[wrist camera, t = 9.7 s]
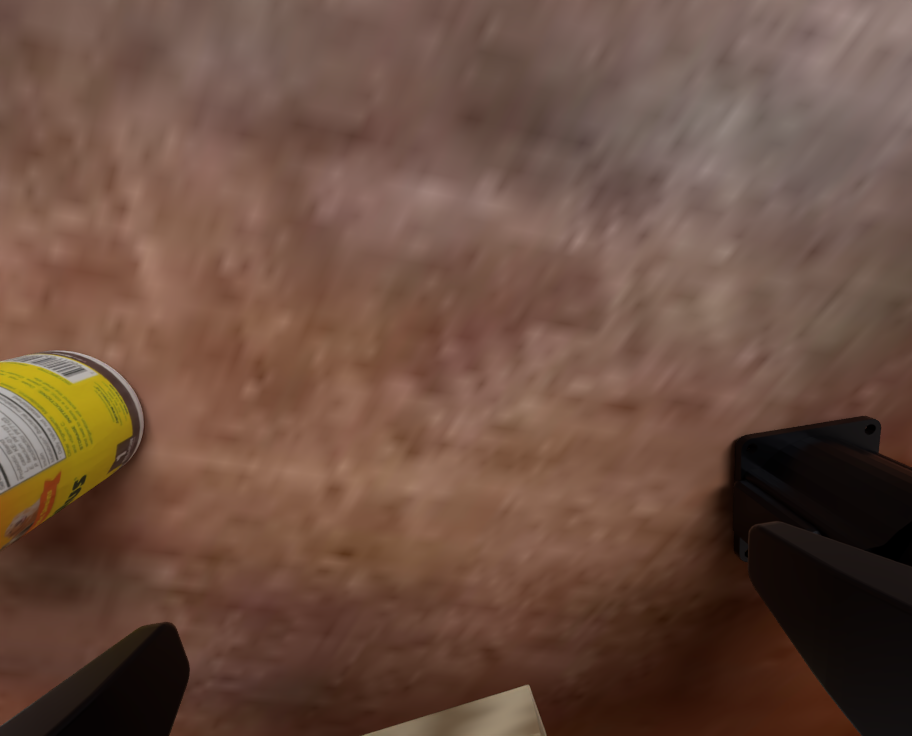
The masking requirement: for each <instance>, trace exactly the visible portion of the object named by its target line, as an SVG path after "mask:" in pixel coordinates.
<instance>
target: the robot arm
mask: <svg viewBox="0 0 912 736" xmlns="http://www.w3.org/2000/svg"><path fill="white" fill-rule="evenodd" d="M866 427H867V428H866ZM865 428H866V429H865ZM880 433H881V424H880V422H879V421H878V420H876V419H873V418H870V417H868V416H860V417H854V418H848V419H842V420H836V421H829V422H823V423H817V424H811V425H805V426H798V427H792V428H786V429H780V430H774V431H768V432H761V433H755V434H749V435H745V436H742V437H741V438H739V439H738V441H737V442H736V446H735V484H734V493H733V531H734V552H735V554H736V555H737V556H738V557H739V558H740V559H741V560H742V561H745V562H748V573H749V577H750V580H751V582H752V584H753V586H754V588H755V589H756V591H757V592H758V594H759V595H760V596H761V598H762V599H763V601H764V602H765V604H766V605H767V607H768V608H769V610H770V611H771V612H772V614H773V615H774V617H775V618H776V620H777V621H778V623H779V624H780V626H781V627H782V629H783V630H784V631H785V633H786V634H787V636H788V637H789V639H790V640H791V642H792V643H793V645H794V646H795V648H796V649H797V650H798V652H799V653H800V655H801V656H802V658H803V659H804V661H805V662H806V664H807V665H808V666H809V668H810V669H811V671H812V672H813V674H814V675H815V676H816V678H817V679H818V681H819V682H820V683H821V685H822V686H823V687H824V689H825V690H826V691H827V693H828V694H829V695H830V697H831V698H832V699H833V700H834V702H835V703H836V704H837V706H838V707H839V708H840V709H841V711H842V712H843V713H844V714H845V716H846V717H847V718H848V719H849V720H850V722H851V723H852V724H853V725H854V727H855V728H856V729H857V730H858V732H859V733H860V734H861V735H862V736H912V467H909V466H907V465H905V464H903V463H900V462H898V461H896V460H893V459H891V458H889V457H886V456H884V455H882V454H880V453H879V443H880ZM749 444H751V447H750V448H749V449H747V446H748V445H749ZM746 449H747V450H746ZM747 549H748V550H747ZM746 550H747V551H746ZM745 551H746V552H745ZM189 672H190V668H189V662H188V659H187V656H186V653H185V650H184V648H183V645H182V642H181V640H180V637H179V634H178V631H177V629H176V627H175V626H174V625H173V624H172V623H170V622H162V623H156V624H150V625H145V626H142V627H140V628H138V629H136V630H135V631H134V632H132V633H131V634H129V635H128V636H127V637H125V638H124V639H122V640H121V641H120V642H118V643H117V644H115V645H114V646H113V647H111V648H110V649H108V650H107V651H106V652H104V653H103V654H101V655H100V656H98V657H97V658H96V659H94V660H93V661H91V662H90V663H89V664H87V665H86V666H84V667H83V668H82V669H80V670H79V671H77V672H76V673H75V674H73V675H72V676H70V677H69V678H68V679H66V680H65V681H63V682H62V683H61V684H59V685H58V686H56V687H55V688H54V689H52V690H51V691H49V692H48V693H47V694H45V695H44V696H42V697H41V698H40V699H38V700H37V701H35V702H34V703H33V704H31V705H30V706H28V707H27V708H25V709H24V710H23V711H21V712H20V713H18V714H17V715H16V716H14V717H13V718H11V719H10V720H9V721H7V722H6V723H4V724H3V725H2V726H0V736H169V735H170V732H171V729H172V726H173V724H174V721H175V718H176V715H177V712H178V709H179V706H180V703H181V701H182V698H183V695H184V692H185V689H186V686H187V683H188V679H189Z"/></svg>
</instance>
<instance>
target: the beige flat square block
mask: <svg viewBox="0 0 912 736" xmlns="http://www.w3.org/2000/svg"><path fill="white" fill-rule="evenodd" d="M362 736H547V735H546V732H545V729H544V726H543V723H542V721H541V718H540V715H539V712H538V709H537V706H536V703H535V700H534V698H533V695H532V692H531V689H530V686H529V685H525V686H522V687H519V688H516V689H512V690H509V691H506V692H502V693H499V694H496V695H493V696H489V697H486V698H483V699H480V700H476V701H473V702H470V703H467V704H463V705H460V706H457V707H454V708H450V709H447V710H444V711H440V712H437V713H434V714H431V715H427V716H424V717H421V718H418V719H414V720H411V721H408V722H405V723H401V724H398V725H395V726H392V727H388V728H385V729H382V730H378V731H375V732H372V733H369V734H365V735H362Z"/></svg>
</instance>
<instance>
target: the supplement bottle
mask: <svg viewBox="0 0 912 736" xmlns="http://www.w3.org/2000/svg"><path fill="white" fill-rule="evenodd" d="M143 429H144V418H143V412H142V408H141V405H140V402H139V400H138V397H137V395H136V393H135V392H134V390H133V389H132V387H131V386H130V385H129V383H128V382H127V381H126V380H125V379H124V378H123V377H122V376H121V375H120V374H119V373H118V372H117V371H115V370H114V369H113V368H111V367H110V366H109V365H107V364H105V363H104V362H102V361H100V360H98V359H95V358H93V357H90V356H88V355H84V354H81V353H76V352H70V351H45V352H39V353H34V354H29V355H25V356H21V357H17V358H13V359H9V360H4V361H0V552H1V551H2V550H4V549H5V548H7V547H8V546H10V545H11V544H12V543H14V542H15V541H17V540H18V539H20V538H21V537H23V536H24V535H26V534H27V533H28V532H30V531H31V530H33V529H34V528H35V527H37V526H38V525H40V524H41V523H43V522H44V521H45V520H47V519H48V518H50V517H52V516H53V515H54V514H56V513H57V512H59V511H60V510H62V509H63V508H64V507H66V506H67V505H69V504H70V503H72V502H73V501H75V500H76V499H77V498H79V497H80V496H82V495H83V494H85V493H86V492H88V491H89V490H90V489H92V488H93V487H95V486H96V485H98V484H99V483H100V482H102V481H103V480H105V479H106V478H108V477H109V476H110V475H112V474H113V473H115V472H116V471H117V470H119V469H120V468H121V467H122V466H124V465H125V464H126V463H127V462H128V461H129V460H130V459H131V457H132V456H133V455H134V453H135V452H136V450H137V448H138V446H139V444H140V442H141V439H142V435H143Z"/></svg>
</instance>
